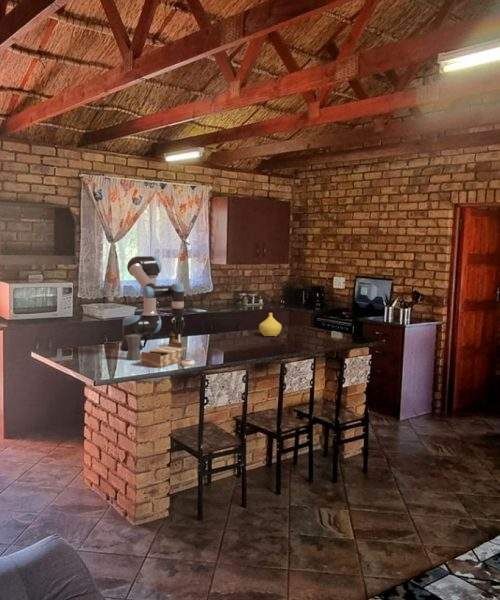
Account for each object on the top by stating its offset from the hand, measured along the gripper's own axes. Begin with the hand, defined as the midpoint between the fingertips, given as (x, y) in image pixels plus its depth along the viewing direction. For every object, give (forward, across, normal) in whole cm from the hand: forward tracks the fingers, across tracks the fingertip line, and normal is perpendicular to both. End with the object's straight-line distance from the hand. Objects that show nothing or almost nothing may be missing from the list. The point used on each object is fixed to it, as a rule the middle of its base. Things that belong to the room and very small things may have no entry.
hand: (177, 344), depth 357 cm
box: (+9, +18, 0) cm, 20 cm away
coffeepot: (+10, +14, -22) cm, 28 cm away
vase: (+10, -119, +10) cm, 120 cm away
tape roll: (+10, +12, +16) cm, 22 cm away
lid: (+2, +10, 0) cm, 10 cm away
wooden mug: (+10, -36, -26) cm, 46 cm away
